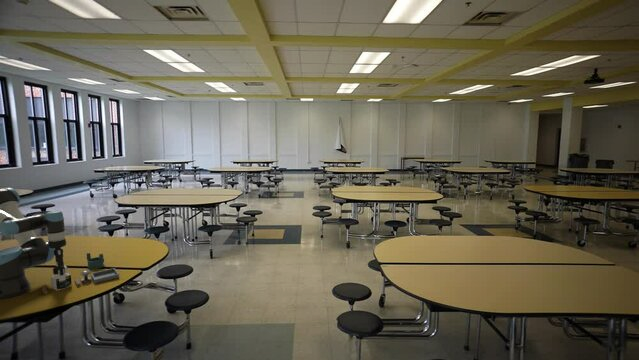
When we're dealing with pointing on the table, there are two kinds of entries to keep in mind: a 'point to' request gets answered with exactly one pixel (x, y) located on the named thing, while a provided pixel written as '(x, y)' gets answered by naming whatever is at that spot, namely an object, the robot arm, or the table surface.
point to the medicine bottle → (58, 284)
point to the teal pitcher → (95, 261)
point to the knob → (85, 276)
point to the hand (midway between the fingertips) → (61, 276)
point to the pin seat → (75, 281)
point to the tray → (104, 275)
